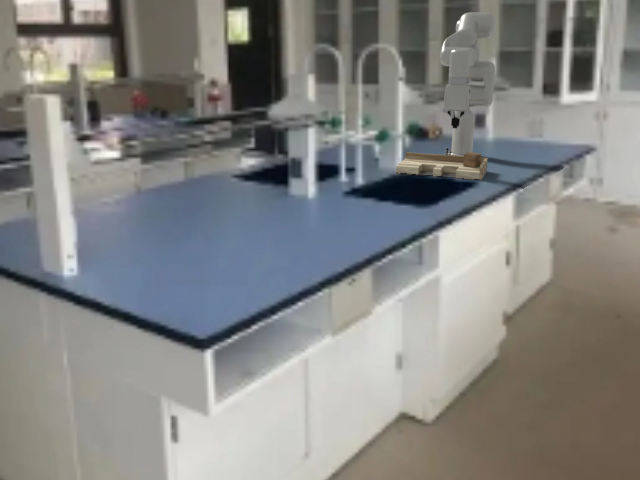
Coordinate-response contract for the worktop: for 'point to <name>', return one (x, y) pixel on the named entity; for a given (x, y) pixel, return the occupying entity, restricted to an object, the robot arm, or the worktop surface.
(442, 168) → the board
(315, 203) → the worktop surface
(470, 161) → the walnut block
